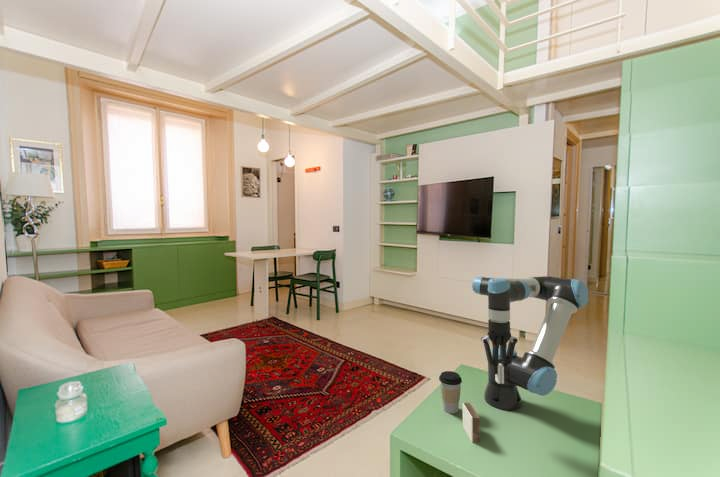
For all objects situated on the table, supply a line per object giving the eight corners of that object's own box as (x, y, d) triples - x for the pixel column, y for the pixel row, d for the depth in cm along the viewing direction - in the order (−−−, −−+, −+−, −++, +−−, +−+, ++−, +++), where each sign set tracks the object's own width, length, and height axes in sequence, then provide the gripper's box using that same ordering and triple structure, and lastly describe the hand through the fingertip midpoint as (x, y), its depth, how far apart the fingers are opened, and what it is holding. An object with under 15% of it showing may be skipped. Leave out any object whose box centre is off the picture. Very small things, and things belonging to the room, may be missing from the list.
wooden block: (470, 425, 125) (470, 402, 125) (480, 442, 116) (479, 417, 115) (462, 425, 125) (462, 403, 125) (471, 442, 115) (471, 417, 115)
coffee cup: (459, 418, 130) (459, 382, 130) (436, 412, 135) (436, 377, 134) (464, 407, 138) (463, 372, 138) (442, 401, 143) (442, 368, 143)
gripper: (512, 316, 123) (512, 377, 124) (477, 317, 123) (477, 377, 124) (522, 322, 116) (522, 386, 116) (484, 323, 116) (485, 387, 116)
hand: (499, 381), depth 120 cm, fingers closed
